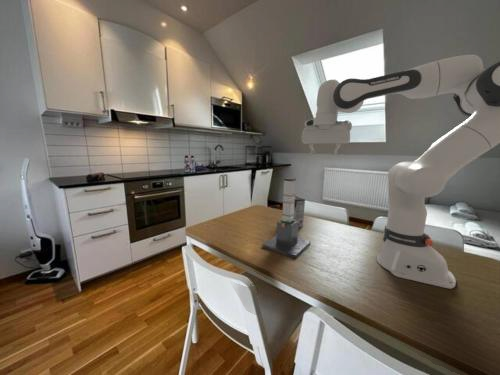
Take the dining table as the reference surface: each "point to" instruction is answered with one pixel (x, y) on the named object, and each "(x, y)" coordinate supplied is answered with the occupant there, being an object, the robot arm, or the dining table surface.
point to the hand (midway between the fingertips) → (323, 154)
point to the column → (288, 200)
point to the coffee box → (299, 210)
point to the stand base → (287, 240)
